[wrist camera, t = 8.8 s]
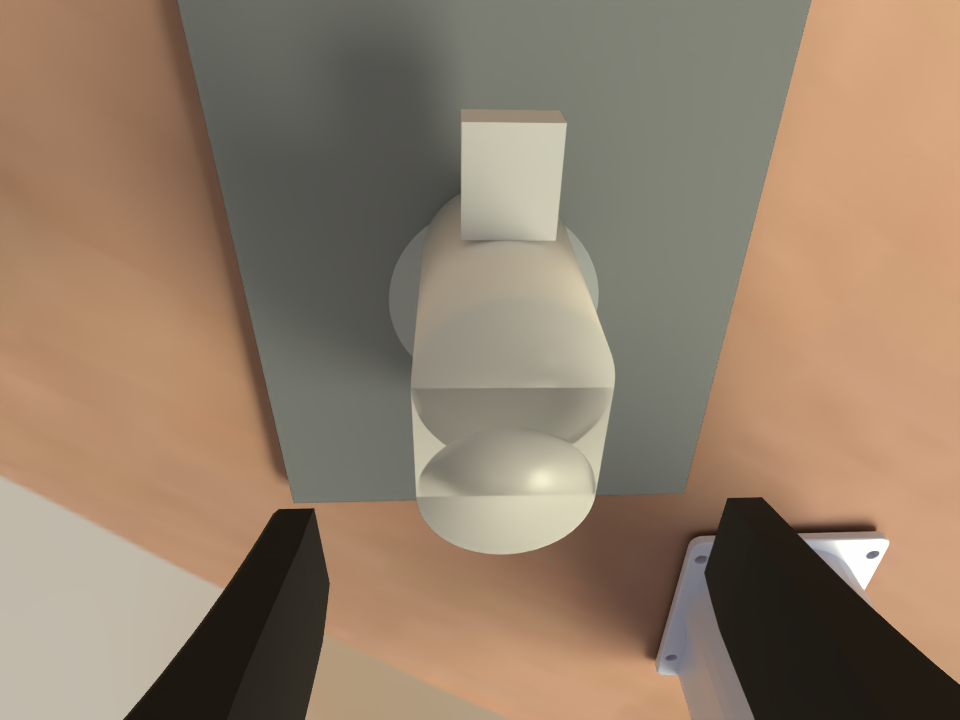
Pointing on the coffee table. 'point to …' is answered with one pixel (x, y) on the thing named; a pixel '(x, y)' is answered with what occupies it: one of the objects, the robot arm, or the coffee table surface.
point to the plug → (507, 348)
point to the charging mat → (437, 179)
